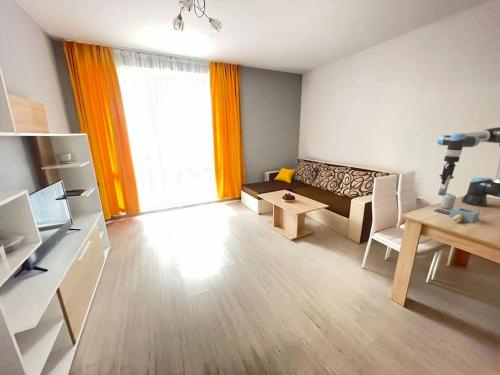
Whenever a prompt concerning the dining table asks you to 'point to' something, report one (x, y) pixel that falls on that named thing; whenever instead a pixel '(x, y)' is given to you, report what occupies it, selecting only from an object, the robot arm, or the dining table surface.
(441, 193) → the silver tall rounded piece
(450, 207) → the can
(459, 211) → the block
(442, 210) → the mat
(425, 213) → the dining table surface
